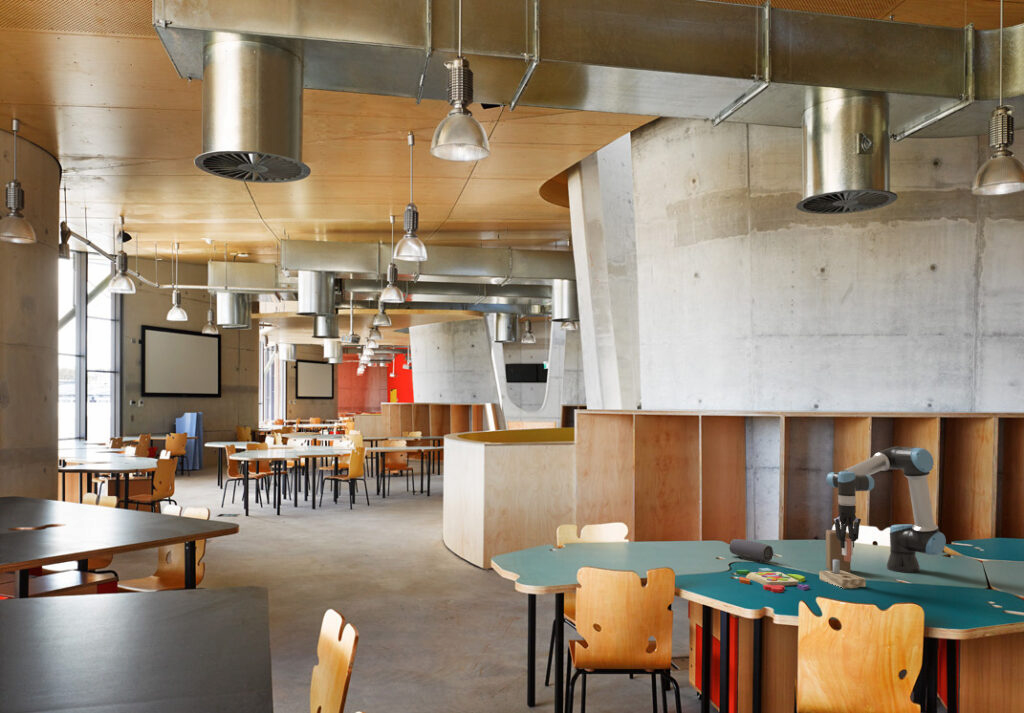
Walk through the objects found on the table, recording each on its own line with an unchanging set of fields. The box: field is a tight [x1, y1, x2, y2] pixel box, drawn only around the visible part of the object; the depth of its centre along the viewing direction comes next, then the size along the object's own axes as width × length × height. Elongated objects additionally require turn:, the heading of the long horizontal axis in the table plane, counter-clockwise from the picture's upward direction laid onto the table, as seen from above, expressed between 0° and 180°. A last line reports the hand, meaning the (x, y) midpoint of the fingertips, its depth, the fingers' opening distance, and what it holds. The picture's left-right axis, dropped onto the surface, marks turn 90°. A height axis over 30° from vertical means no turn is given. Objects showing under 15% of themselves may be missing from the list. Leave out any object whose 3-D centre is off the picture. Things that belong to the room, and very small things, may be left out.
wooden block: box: [825, 529, 851, 574], centre depth 387 cm, size 10×10×20 cm
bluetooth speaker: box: [728, 538, 774, 562], centre depth 413 cm, size 23×9×10 cm, turn 34°
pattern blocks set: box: [735, 567, 810, 594], centre depth 363 cm, size 38×34×3 cm
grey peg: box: [833, 560, 840, 574], centre depth 364 cm, size 3×3×10 cm
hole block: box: [818, 570, 867, 589], centre depth 360 cm, size 12×18×4 cm, turn 11°
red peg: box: [844, 539, 852, 562], centre depth 356 cm, size 3×3×10 cm
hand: (847, 554), depth 356 cm, fingers closed on red peg, 2 cm apart
